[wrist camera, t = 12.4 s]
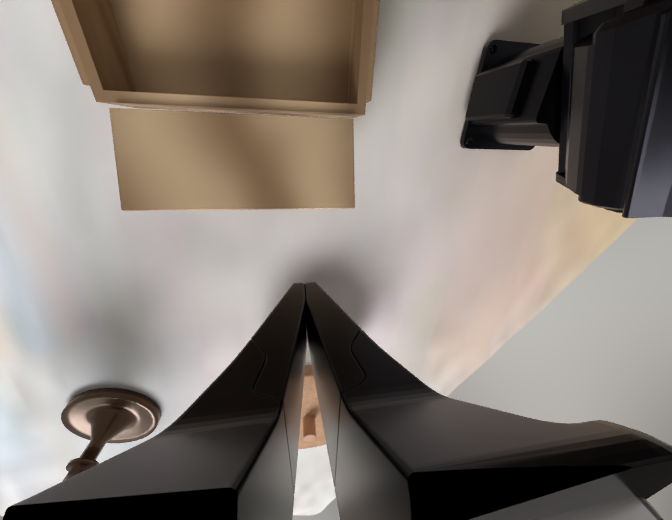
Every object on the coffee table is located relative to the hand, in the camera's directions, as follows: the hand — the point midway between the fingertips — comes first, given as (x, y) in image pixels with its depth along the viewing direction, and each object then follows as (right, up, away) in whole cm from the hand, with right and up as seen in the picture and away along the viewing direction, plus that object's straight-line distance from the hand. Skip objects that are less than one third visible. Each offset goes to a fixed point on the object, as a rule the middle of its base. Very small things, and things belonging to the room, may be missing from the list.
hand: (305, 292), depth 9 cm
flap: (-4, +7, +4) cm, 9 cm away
